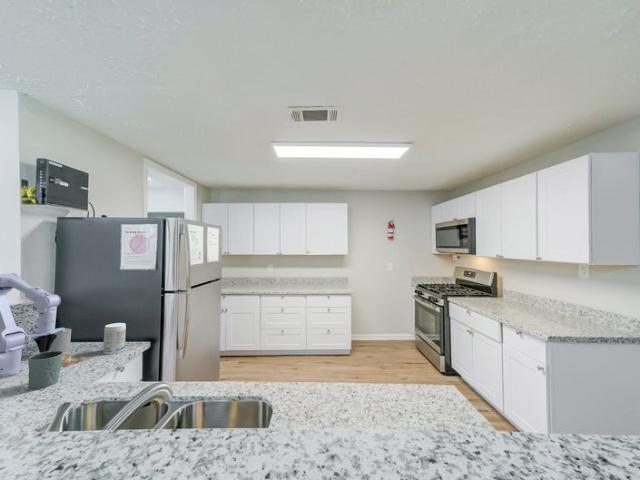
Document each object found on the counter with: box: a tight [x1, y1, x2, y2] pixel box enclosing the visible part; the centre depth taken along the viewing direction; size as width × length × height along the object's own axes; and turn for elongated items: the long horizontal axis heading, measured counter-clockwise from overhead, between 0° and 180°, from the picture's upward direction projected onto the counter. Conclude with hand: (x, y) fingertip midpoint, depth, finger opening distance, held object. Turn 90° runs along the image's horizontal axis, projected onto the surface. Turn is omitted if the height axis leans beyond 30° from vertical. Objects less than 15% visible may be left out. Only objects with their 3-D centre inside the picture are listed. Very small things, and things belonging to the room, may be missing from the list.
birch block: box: [61, 352, 72, 366], centre depth 131 cm, size 4×4×4 cm
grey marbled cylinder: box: [49, 327, 73, 353], centre depth 144 cm, size 10×10×12 cm
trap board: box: [61, 355, 90, 368], centre depth 134 cm, size 12×11×1 cm
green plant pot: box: [27, 351, 63, 391], centre depth 111 cm, size 10×10×12 cm
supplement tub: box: [102, 322, 127, 355], centre depth 150 cm, size 10×10×15 cm
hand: (44, 352), depth 124 cm, fingers closed
